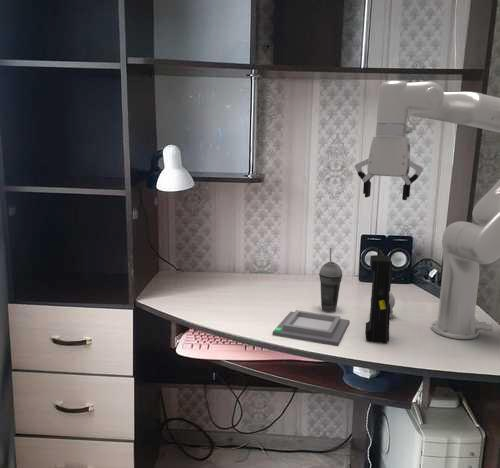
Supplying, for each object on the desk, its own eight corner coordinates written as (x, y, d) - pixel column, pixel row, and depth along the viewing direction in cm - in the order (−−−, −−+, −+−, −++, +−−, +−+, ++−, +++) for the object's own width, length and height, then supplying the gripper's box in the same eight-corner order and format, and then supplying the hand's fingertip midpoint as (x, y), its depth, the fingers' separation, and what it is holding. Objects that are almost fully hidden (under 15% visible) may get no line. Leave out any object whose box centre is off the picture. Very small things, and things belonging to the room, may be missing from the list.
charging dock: (349, 323, 146) (349, 315, 145) (337, 346, 129) (338, 337, 129) (290, 314, 152) (290, 306, 151) (272, 335, 135) (272, 326, 135)
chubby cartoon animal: (363, 322, 147) (365, 295, 145) (372, 310, 157) (374, 285, 156) (388, 327, 144) (390, 299, 142) (395, 314, 154) (397, 288, 153)
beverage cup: (322, 314, 152) (326, 251, 149) (313, 307, 159) (316, 246, 155) (344, 313, 154) (348, 250, 151) (334, 305, 161) (337, 245, 157)
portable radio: (389, 346, 130) (397, 253, 125) (366, 343, 131) (372, 252, 126) (387, 334, 138) (394, 247, 133) (365, 332, 139) (371, 245, 134)
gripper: (428, 132, 126) (422, 199, 129) (361, 131, 133) (356, 194, 136) (424, 131, 119) (417, 202, 122) (353, 130, 127) (349, 197, 130)
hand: (385, 198), depth 129 cm, fingers open, 9 cm apart
